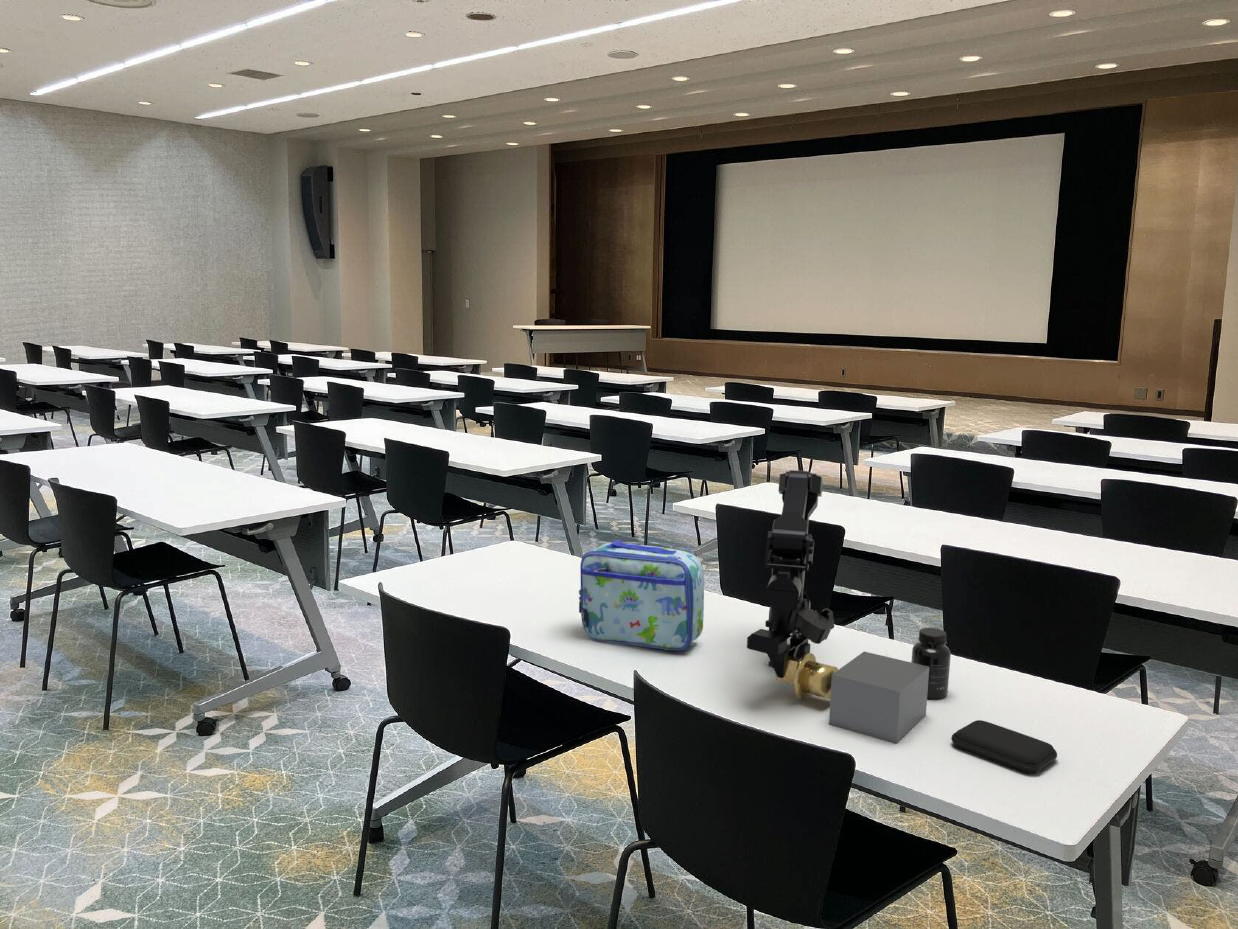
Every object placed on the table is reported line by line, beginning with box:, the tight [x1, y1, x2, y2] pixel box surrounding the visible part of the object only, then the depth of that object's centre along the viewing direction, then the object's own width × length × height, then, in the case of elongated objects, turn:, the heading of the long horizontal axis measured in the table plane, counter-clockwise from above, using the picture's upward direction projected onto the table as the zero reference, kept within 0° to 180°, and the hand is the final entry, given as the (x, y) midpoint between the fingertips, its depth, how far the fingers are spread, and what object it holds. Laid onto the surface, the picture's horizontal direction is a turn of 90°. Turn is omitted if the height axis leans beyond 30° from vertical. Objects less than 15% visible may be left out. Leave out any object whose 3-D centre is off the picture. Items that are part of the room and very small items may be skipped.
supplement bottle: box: [910, 627, 952, 701], centre depth 182 cm, size 7×7×12 cm
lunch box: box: [578, 539, 705, 652], centre depth 206 cm, size 26×11×21 cm, turn 65°
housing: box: [828, 650, 929, 744], centre depth 170 cm, size 12×14×9 cm
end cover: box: [775, 652, 839, 700], centre depth 178 cm, size 11×8×8 cm
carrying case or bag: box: [950, 719, 1058, 775], centre depth 160 cm, size 11×3×15 cm
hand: (783, 675), depth 181 cm, fingers closed on end cover, 2 cm apart
